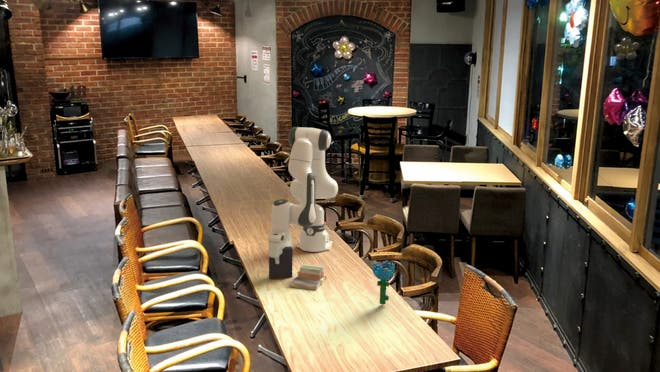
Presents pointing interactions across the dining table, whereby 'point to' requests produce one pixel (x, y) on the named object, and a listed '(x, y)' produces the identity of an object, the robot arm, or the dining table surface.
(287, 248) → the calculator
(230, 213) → the dining table surface
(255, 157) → the dining table surface
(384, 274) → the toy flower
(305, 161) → the robot arm
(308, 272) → the sticky note pad set
